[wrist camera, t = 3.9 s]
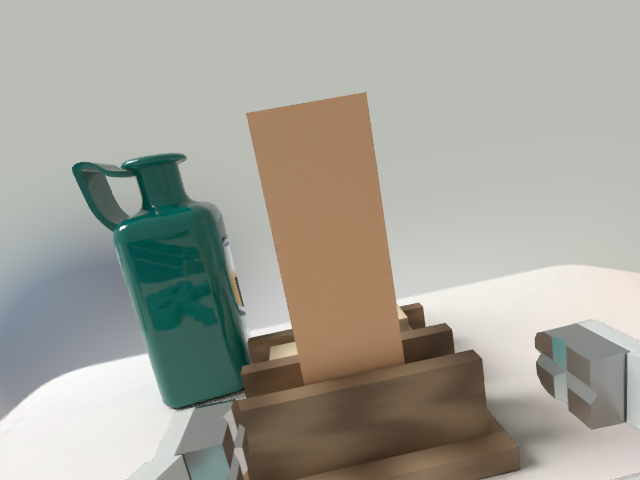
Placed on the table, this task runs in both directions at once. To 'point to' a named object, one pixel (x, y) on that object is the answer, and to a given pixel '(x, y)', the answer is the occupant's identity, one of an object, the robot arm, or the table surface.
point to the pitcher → (175, 278)
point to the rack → (374, 415)
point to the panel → (329, 235)
